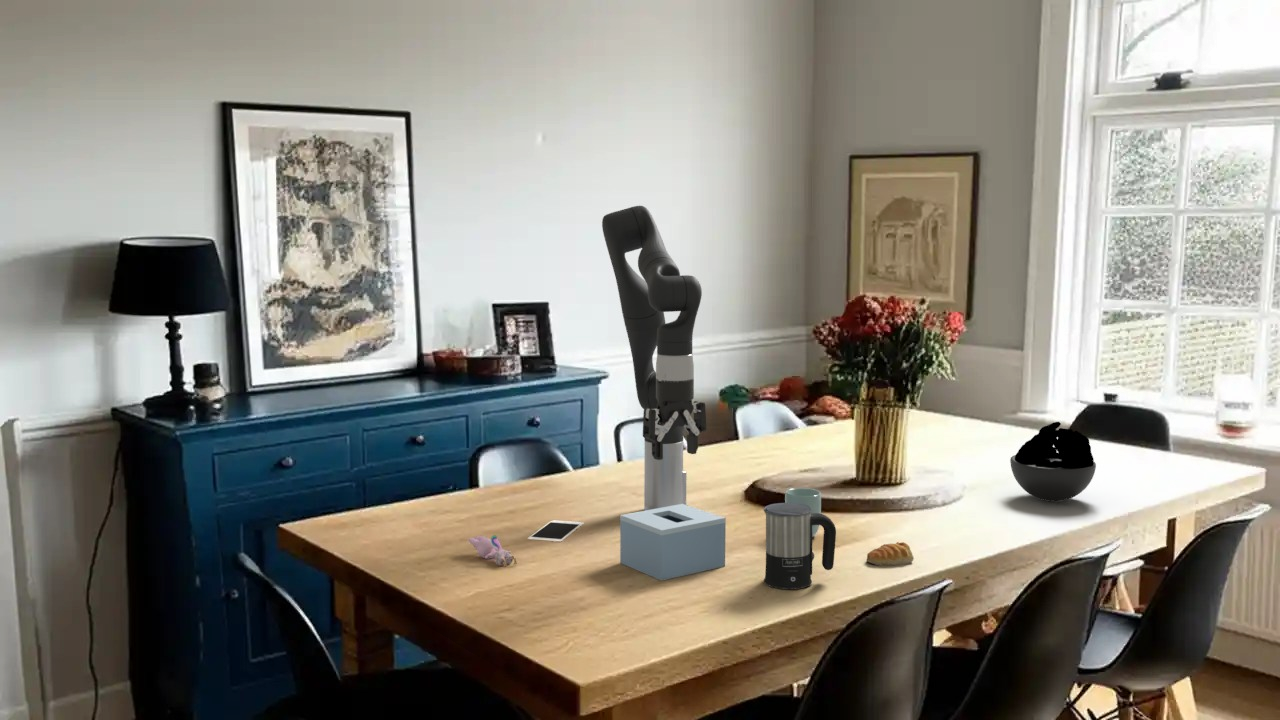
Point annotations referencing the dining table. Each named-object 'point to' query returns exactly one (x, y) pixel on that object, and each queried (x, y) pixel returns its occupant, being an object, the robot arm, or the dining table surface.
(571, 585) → the dining table surface
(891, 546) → the pastry
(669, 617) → the dining table surface
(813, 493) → the cup
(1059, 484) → the bowl of black rocks
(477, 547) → the rabbit figure
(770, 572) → the milk frother
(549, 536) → the cell phone
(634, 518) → the box
